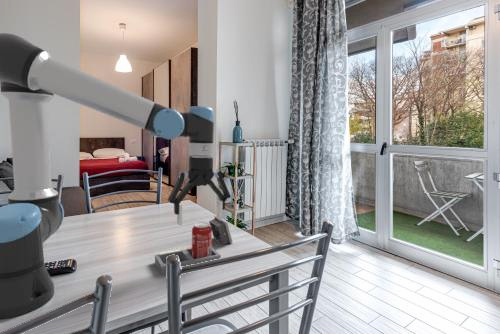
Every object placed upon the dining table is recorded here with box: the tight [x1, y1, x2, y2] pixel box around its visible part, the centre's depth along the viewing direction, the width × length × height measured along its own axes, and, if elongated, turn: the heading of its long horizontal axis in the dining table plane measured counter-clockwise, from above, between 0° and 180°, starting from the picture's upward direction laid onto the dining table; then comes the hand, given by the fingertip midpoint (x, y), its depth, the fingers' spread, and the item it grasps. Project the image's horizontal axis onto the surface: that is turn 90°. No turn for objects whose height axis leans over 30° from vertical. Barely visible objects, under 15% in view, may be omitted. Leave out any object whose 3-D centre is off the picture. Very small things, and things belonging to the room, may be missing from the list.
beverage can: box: [191, 221, 213, 259], centre depth 102 cm, size 6×6×12 cm
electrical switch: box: [208, 215, 233, 246], centre depth 118 cm, size 9×5×9 cm, turn 32°
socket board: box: [154, 246, 221, 276], centre depth 100 cm, size 19×9×3 cm, turn 118°
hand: (200, 221), depth 100 cm, fingers open, 13 cm apart
